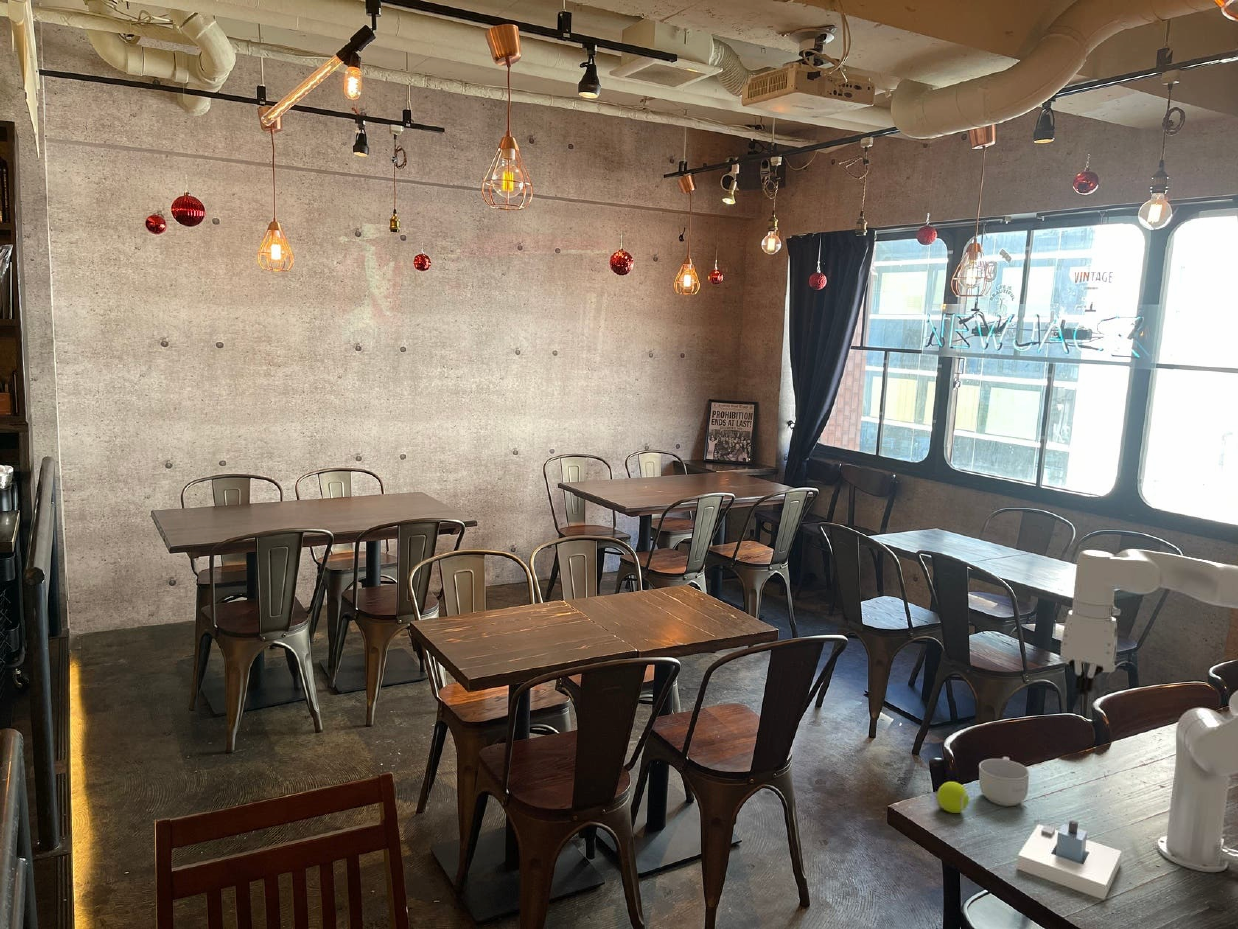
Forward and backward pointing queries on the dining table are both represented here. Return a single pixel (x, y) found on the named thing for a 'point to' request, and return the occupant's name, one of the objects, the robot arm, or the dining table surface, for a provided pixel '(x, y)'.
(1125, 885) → the dining table surface
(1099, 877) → the socket
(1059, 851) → the plug
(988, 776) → the teacup
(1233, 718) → the robot arm
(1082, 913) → the dining table surface
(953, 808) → the tennis ball
